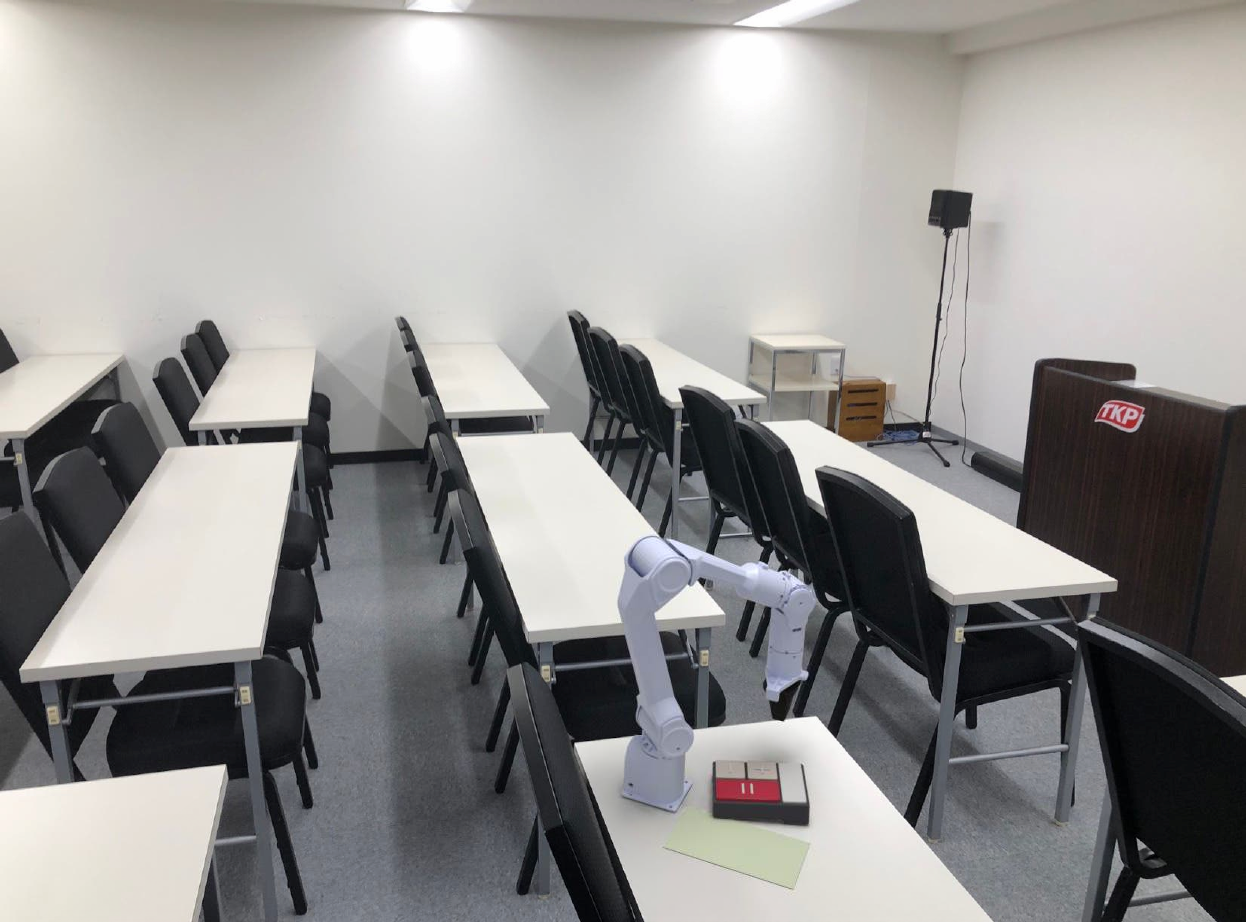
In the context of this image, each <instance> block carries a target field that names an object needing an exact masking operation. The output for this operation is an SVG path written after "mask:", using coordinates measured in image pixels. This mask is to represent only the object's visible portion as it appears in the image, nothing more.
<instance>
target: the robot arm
mask: <svg viewBox="0 0 1246 922" xmlns="http://www.w3.org/2000/svg"><path fill="white" fill-rule="evenodd" d="M665 540H666V541H667V542H666V541H665ZM665 540H664V539H663V538H662V537H660V536H659V535H656V534H645V535H643V536H640V537H639V538H638V539H637V540H635V542H634V543H633V544H632V545H631V546H630V548H629V549H628V551H627V552H626V553H625V555H624V556H623V560H624V572H623V577H622V580H621V584H620V587H619V588H620V589H619V593H618V596H617V601H616V602H617V608H618V613H619V616H620V620H621V621H620V622H621V624H622V628H623V633H624V636H625V640H626V644H627V648H628V651H629V655H630V659H631V663H632V667H633V671H634V674H635V675H634V676H635V680H636V683H637V687H638V690H639V693H638V695H636V700H637V709H636V711H635V720H636V723H637V724H638V726H639V727H640V728H641V731H642V732H641V733H642V734H641V735H639V734H638V735H637V734H634V736H632V738H631V739H630V741H629V743H628V745H627V748H626V752H625V756H624V765H623V766H624V768H623V770H624V771H623V790H622V792H621V796H622V797H624V798H628V799H630V800H634V801H637V802H640V803H644V804H647V805H650V806H653V807H657V808H660V809H662V810H667V811H669V812H673V813H674V812H677V811H678V809H679V808H680V807H681V804H682V802H683V801H684V800H685V798H686V796H687V794H688V793H689V790H690V789H691V787H692V785H693V782H692V781H691V780H687V779H685V772H686V771H685V769H686V753H687V752H688V751H689V750H690V749H691V747H692V745H693V743H694V740H695V734H694V733H695V732H694V730H693V728H692V727H691V726H690V724H688V723H687V722H686V720H685V717H684V713H683V712H682V709H681V708H680V705H679V704H678V701H677V699H676V698H675V694H674V690H673V686H672V682H671V678H670V673H669V671H668V670H669V669H668V665H667V661H666V657H665V653H664V649H663V645H662V641H661V637H660V631H659V627H658V623H657V619H656V615H655V613H657V612H658V611H659V610H661V609H662V608H663V607H665V606H666V605H667V604H668V603H669V602H670V601H671V600H673V599H674V598H675V597H676V596H677V595H679V594H680V593H681V592H682V591H683V590H684V589H685V588H686V587H687V586H689V587H690V588H691V587H693V586H695V584H697V581H698V580H700V578H702V579H705V580H709V581H712V582H716V583H719V584H723V585H727V586H729V587H733V588H734V591H735V593H736V594H737V596H738V597H739V598H742V599H745V600H748V601H751V602H754V603H756V604H760V605H764V606H766V607H768V608H771V609H770V619H769V620H770V621H769V623H770V624H769V636H768V646H767V657H766V658H767V659H766V665H765V668H764V671H765V679H764V680H763V682H762V689H763V691H764V692H765V700H768V702H769V709H770V715H771V718H772V720H775V721H779V722H782V723H783V722H784V723H785V721H786V718H787V716H788V715H789V711H790V709H791V706H792V702H793V700H794V699H793V698H794V696H795V695H796V694H797V691H798V690H799V687H800V685H801V683H802V681H806V680H807V679H808V677H809V672H808V671H806V670H803V667H802V665H803V658H804V657H803V656H804V648H805V647H804V645H805V637H806V636H805V634H806V627H807V626H806V625H807V624H808V623H809V622H808V621H809V619H808V618H809V616H810V614H811V613H812V611H813V610H814V608H815V606H816V604H817V603H816V602H817V600H816V599H815V598H814V594H813V593H814V592H813V590H811V587H809V586H808V585H806V583H804V582H802V581H801V580H800V579H799V578H797V577H796V576H794V574H792V573H790V572H788V570H781V571H776V570H773V569H771V568H770V566H769V565H767V564H766V563H765V562H763V561H760V560H759V561H758V562H757V563H755V562H747V563H745V564H743V565H741V566H739V565H737V564H734V563H732V562H729V561H727V560H725V559H722V558H720V557H719V556H718V557H717V556H715V555H713V554H710V553H708V552H705V551H704V550H700V549H698V548H696V547H693V546H691V545H688V544H686V543H683V542H680V541H677V540H675V539H671V538H665ZM667 543H668V544H667Z"/></svg>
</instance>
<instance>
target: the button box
mask: <svg viewBox="0 0 1246 922" xmlns="http://www.w3.org/2000/svg"><path fill="white" fill-rule="evenodd" d="M804 767H805V766H804V765H803V764H802V763H798V762H796V763H795V762H776V761H766V760H765V761H763V760H748V761H744V760H728V759H727V760H725V759H716V760H715V761H713V762H712V813H713V817H714V818H729V819H732V820H759V821H760V820H761V821H767V820H768V821H780V822H781V823H783V824H786V825H788V824H789V825H809V824H810V810H811V809H810V808H811V807H810V805H811V804H810V799H809V798H810V797H809V793H808V786H807V780H806V774H805V768H804Z"/></svg>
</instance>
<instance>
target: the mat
mask: <svg viewBox="0 0 1246 922" xmlns="http://www.w3.org/2000/svg"><path fill="white" fill-rule="evenodd" d="M810 845H811V842H808V841H806V840H805V841H804V840H801V839H798V838H795V837H792V836H788V835H785V834H782V833H779V832H775V831H771V830H769V829H765V828H762V827H759V826H755V825H752V824H749V823H745V822H741V821H739V820H737V819H729V818H714V817H713V812H709V811H706V810H702V809H700V808H695V807H692V806H689V805H686V806H685V808H684V810H683V812H682V814H681V815H680V817H679V819H678V820H677V821H676V823H675V825H674V827H673V828H672V831H671V832H670V834H669V836H668V837H667V839H666V841H665V842H664V844H663V846H662V848H664V849H666V850H671V851H673V852H675V853H680V854H681V855H686V856H688V857H691V858H695V859H697V860H700V861H704V862H706V863H710V864H713V865H715V866H716V865H717V866H719V867H722V868H726V869H729V870H731V871H735V872H738V873H741V874H743V875H747V876H751V877H753V878H757V879H759V880H762V881H766V882H768V883H771V884H775V885H778V886H780V887H784V888H787V889H791V890H794V888H795V885H796V883H797V880H798V877H799V874H800V871H801V869H802V866H803V864H804V861H805V858H806V856H807V853H808V850H809V847H810Z"/></svg>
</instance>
